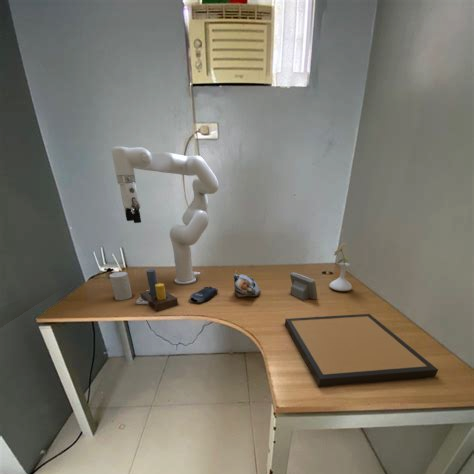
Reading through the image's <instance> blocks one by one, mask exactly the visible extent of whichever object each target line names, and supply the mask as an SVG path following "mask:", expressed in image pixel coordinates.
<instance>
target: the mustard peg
mask: <svg viewBox="0 0 474 474" xmlns="http://www.w3.org/2000/svg"><path fill="white" fill-rule="evenodd" d="M155 288H156V294H157V300H159V301H160V300H164V299H166V295H165V291H166V288H165V284H164V283H157V284H156V285H155Z"/></svg>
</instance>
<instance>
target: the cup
mask: <svg viewBox="0 0 474 474" xmlns="http://www.w3.org/2000/svg"><path fill="white" fill-rule="evenodd" d="M109 279H110V284H111V287H112V288H111V289H112V292H113V295H114V299H115V300H116V301H126V300H129V299H131V298H132V297H133V292H132V288H131V284H130V279H129V274H128V272H127V271H117V272H112V273H110V274H109Z"/></svg>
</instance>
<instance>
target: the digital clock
mask: <svg viewBox="0 0 474 474" xmlns="http://www.w3.org/2000/svg"><path fill="white" fill-rule="evenodd" d="M289 275H290V280H291V281H290V282H291V286H290V295H291V296H294V297H296V298H298V299H300V300H302V301H303V300H307V299H312V300H316V299H318V291H317V285H316V280H315V279H314V278H310V277H308V276H305V275H302V274H300V273H297V272H290V273H289Z"/></svg>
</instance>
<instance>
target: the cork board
mask: <svg viewBox="0 0 474 474" xmlns="http://www.w3.org/2000/svg"><path fill="white" fill-rule="evenodd" d="M284 326H285V327H286V328H285V329H286V330H287V331H288V333H289V335H290V337H291V339H292V340H293V343H294V344H295V346H296V348H297V350H298V351H299V353H300V356H301V358H302V359H303V361H304V363H305V365H306V367H307V368H308V370H309V372H310V374H311V375H312V377H313V379H314V381H315V383H316V385H317V387H318V388H321V387H333V386H344V385H345V386H346V385H357V384H369V383H382V382H392V381H405V380H416V379H417V380H418V379H429V378H436V376H437V374H438V371H439V369H438V368H437V367H436V366H434V365H433V364H432V363H431V362H430V361H428V360H427V359H426V358H425V357H424V356H422V355H421V354H420V353H419V352H417V351H416V350H415V349H413V348H412V347H411V346H409V345H408V344H407V343H406V342H405V341H404V340H402V339H401V338H400V337H399V336H397V334H395V333H394V332H393V331H392V330H390V329H389V328H388V327H386V326H385V325H384V324H383V323H381V322H380V321H379V320H378V319H377V318H375V317H374V316H373V315H371V313H362V314H361V313H360V314H345V315H344V314H343V315H330V316H329V315H327V316H326V315H325V316H309V317H295V318H285V321H284Z"/></svg>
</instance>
